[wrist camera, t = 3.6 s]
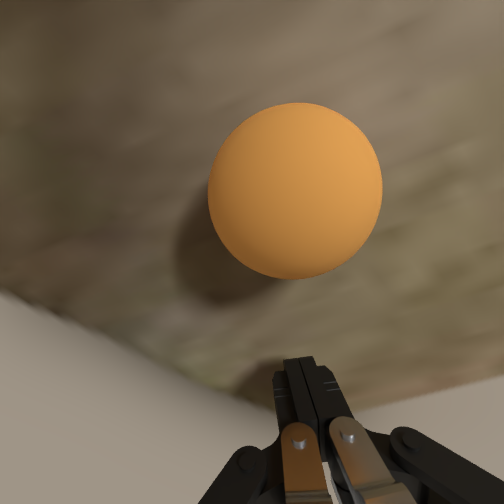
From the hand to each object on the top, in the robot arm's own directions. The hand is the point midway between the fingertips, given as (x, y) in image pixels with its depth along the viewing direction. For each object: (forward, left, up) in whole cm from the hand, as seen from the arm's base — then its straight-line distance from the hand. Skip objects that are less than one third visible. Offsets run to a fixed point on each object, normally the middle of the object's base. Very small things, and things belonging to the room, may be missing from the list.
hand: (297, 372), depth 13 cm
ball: (-9, 0, +1) cm, 9 cm away
